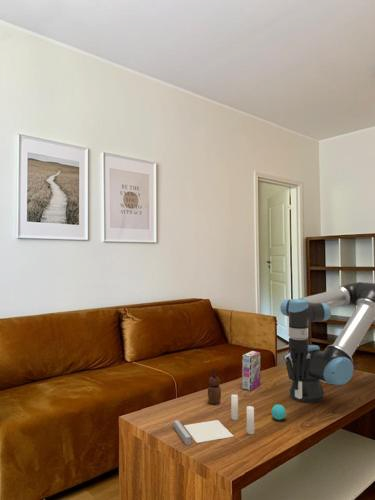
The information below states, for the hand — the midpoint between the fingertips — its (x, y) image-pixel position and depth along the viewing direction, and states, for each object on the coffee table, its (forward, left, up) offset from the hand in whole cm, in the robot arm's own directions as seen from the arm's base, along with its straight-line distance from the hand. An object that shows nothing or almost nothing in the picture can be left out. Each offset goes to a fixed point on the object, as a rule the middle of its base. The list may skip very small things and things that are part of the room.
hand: (298, 397), depth 149 cm
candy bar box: (+1, -36, -8) cm, 37 cm away
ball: (+9, 0, -5) cm, 10 cm away
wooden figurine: (+26, -24, -8) cm, 36 cm away
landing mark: (+39, 0, -7) cm, 40 cm away
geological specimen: (-43, -31, -8) cm, 53 cm away
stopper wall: (+49, 0, -7) cm, 50 cm away
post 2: (+25, +6, -7) cm, 27 cm away
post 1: (+25, -6, -7) cm, 27 cm away
